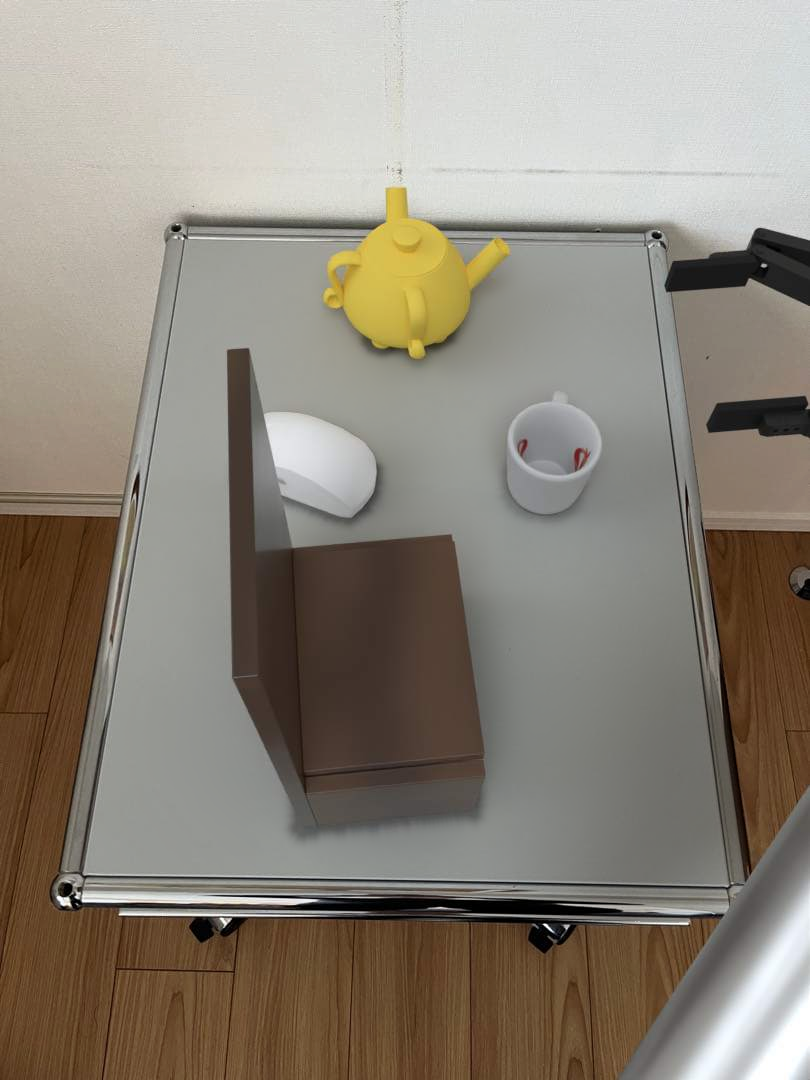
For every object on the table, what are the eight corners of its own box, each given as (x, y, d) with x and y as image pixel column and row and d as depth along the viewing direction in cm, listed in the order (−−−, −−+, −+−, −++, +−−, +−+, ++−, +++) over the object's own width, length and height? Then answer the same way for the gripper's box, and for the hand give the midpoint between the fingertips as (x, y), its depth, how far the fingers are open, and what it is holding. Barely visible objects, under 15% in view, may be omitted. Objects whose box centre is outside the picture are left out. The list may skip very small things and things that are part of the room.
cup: (510, 420, 89) (520, 367, 82) (594, 434, 88) (611, 382, 81) (492, 517, 84) (500, 469, 77) (580, 533, 83) (597, 487, 76)
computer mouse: (261, 424, 88) (251, 384, 83) (387, 470, 86) (387, 431, 80) (229, 478, 85) (217, 440, 80) (359, 527, 83) (356, 491, 78)
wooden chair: (445, 593, 80) (473, 330, 50) (474, 810, 72) (529, 651, 42) (291, 606, 80) (226, 348, 50) (302, 828, 71) (231, 678, 41)
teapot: (506, 305, 95) (518, 221, 85) (426, 391, 90) (429, 312, 80) (394, 242, 99) (393, 155, 89) (311, 321, 94) (301, 237, 84)
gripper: (996, 486, 70) (717, 511, 69) (883, 240, 81) (643, 258, 80) (1058, 429, 63) (751, 456, 62) (926, 170, 74) (665, 188, 73)
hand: (689, 344), depth 71 cm, fingers open, 13 cm apart
